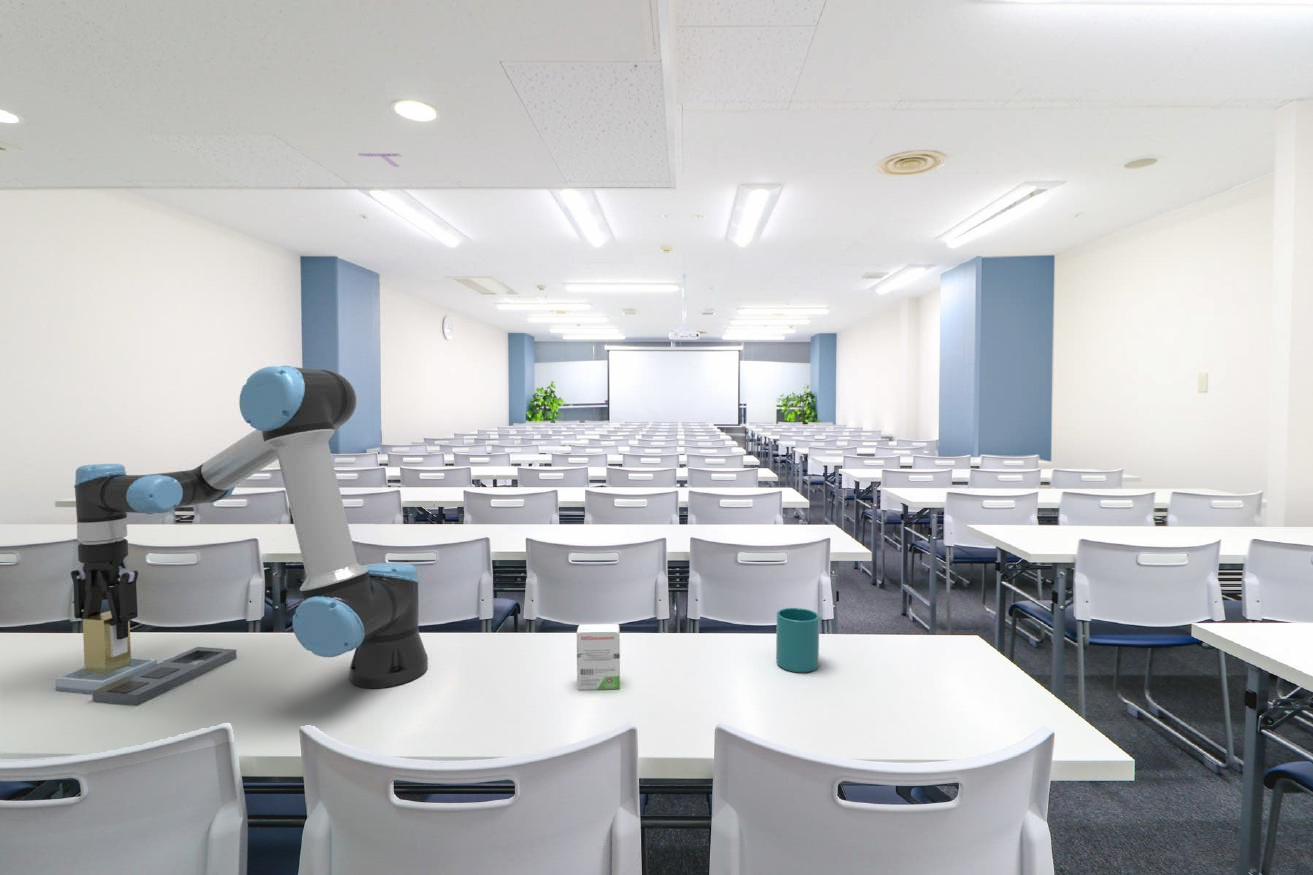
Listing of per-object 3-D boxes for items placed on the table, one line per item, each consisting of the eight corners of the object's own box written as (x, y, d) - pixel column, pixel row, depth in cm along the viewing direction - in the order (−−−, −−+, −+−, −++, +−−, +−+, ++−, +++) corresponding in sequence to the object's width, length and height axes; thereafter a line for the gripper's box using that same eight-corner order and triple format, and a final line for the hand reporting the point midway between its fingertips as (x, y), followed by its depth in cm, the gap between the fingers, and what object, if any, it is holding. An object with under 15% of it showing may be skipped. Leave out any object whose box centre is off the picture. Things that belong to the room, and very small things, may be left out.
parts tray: (157, 670, 129) (157, 659, 129) (102, 694, 118) (101, 682, 118) (113, 667, 130) (113, 655, 130) (55, 690, 120) (55, 678, 119)
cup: (805, 650, 140) (806, 602, 140) (824, 673, 128) (825, 620, 128) (767, 651, 140) (768, 603, 139) (782, 674, 128) (783, 621, 127)
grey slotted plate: (236, 658, 135) (236, 649, 135) (137, 705, 114) (137, 694, 113) (197, 655, 137) (197, 646, 137) (92, 701, 115) (92, 690, 115)
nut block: (131, 664, 126) (129, 612, 126) (105, 674, 121) (103, 620, 121) (110, 662, 127) (109, 610, 126) (84, 672, 122) (82, 619, 122)
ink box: (620, 678, 125) (620, 622, 125) (619, 689, 121) (619, 631, 120) (578, 679, 125) (578, 623, 125) (576, 690, 120) (576, 632, 120)
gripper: (159, 538, 125) (162, 648, 126) (86, 535, 128) (90, 643, 129) (121, 546, 118) (125, 663, 119) (45, 542, 121) (50, 657, 122)
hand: (107, 652), depth 124 cm, fingers closed on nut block, 5 cm apart
